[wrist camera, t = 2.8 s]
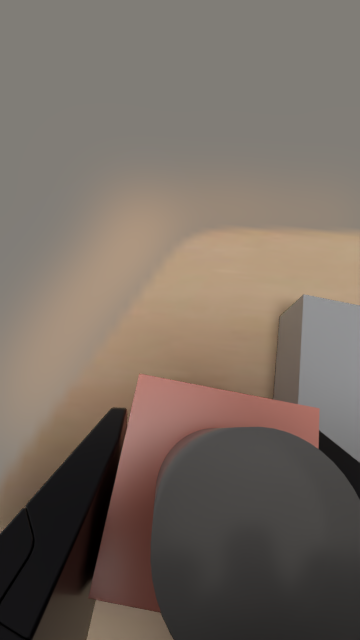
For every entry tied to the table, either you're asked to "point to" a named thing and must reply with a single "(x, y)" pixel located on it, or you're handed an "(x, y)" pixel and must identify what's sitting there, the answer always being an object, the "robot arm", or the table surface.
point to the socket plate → (322, 365)
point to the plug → (230, 519)
